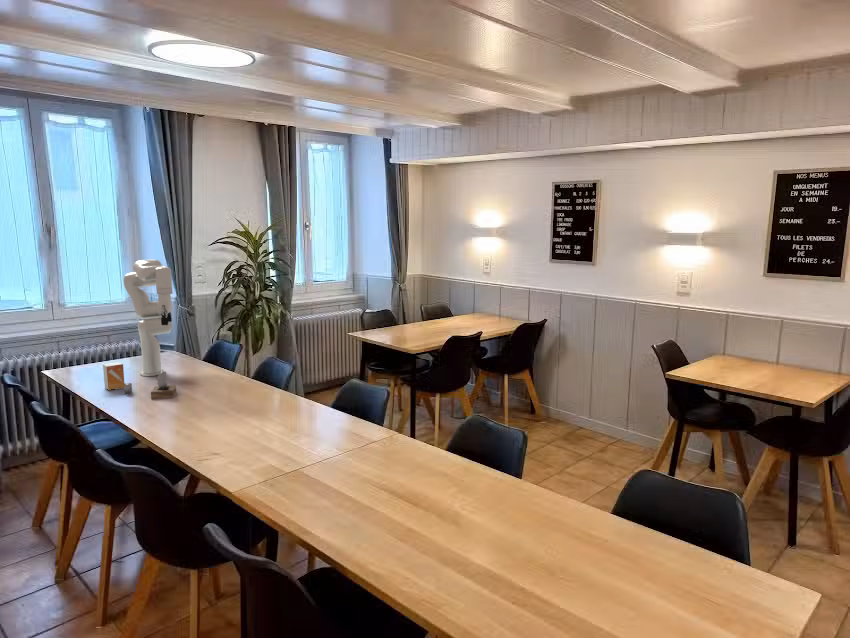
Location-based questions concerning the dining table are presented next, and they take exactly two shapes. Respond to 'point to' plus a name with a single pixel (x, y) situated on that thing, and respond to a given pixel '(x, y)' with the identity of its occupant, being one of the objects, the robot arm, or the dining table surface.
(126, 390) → the short pin
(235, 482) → the dining table surface
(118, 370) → the small box
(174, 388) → the socket block
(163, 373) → the long pin
